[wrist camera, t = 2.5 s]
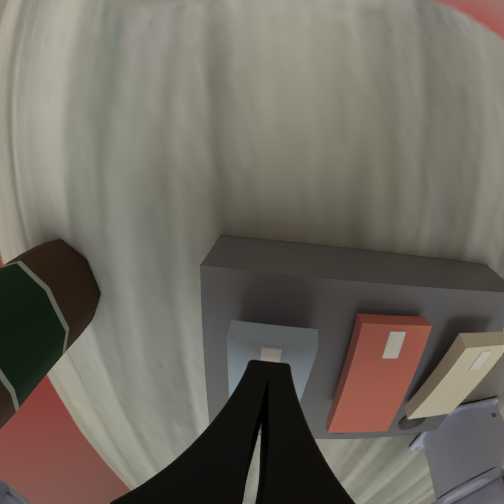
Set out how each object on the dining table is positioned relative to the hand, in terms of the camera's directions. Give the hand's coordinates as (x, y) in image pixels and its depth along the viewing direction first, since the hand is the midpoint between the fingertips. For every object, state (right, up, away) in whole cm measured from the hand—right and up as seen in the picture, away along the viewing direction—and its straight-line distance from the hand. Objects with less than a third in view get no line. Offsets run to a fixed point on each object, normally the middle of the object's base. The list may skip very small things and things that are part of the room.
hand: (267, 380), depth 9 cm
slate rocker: (0, -1, +5) cm, 5 cm away
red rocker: (+6, -2, +4) cm, 7 cm away
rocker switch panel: (+6, -2, +9) cm, 11 cm away
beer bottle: (-15, +2, +10) cm, 19 cm away
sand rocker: (+11, -2, +4) cm, 12 cm away
